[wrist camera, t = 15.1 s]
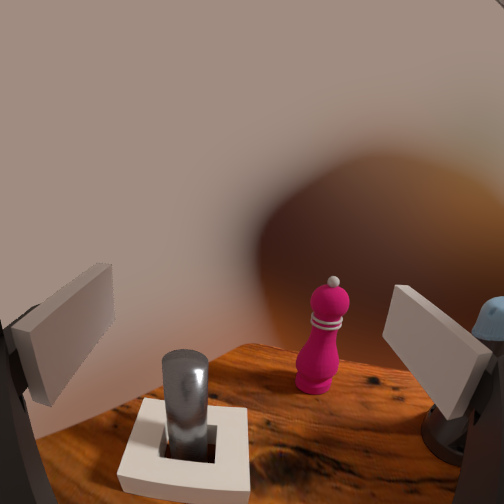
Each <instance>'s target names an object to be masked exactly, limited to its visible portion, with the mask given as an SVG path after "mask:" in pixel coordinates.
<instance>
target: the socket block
mask: <svg viewBox="0 0 504 504" xmlns="http://www.w3.org/2000/svg"><path fill="white" fill-rule="evenodd" d="M168 439H169V436H168V428H167V418H166V408H165V401H164V400H157V399H150V398H144V400H143V403H142V405H141V408H140V411H139V413H138V416H137V419H136V421H135V424H134V427H133V430H132V432H131V435H130V438H129V441H128V443H127V446H126V449H125V452H124V455H123V458H122V460H121V463H120V466H119V469H118V472H117V476H118V479H119V481H120V484H121V486H122V489H123V491H124V492H126V493H131V494H135V495H140V496H145V497H150V498H156V499H162V500H168V501H175V502H182V503H190V504H248V500H249V495H250V476H249V451H248V425H247V408H235V407H220V406H208V408H207V444H216V454H215V464H212V463H201V462H191V461H183V460H175V459H168V458H164V456H165V452H166V447H167V443H168Z"/></svg>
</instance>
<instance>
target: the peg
mask: <svg viewBox="0 0 504 504" xmlns="http://www.w3.org/2000/svg"><path fill="white" fill-rule="evenodd" d="M162 372H163V386H164V398H165V408H166V418H167V428H168V436H169V444H170V452H171V459H175V460H183V461H191V462H201V463H207V408H208V359H207V358H206V356H205V355H203V354H202V353H200V352H197V351H194V350H188V349H180V350H174V351H171V352H169V353H167V354H166V355H165V356H164V357H163V359H162Z"/></svg>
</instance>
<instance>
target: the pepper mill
mask: <svg viewBox="0 0 504 504" xmlns="http://www.w3.org/2000/svg"><path fill="white" fill-rule="evenodd" d="M338 285H339V279H338V278H337V277H336V276H332V277H330V278H329V279H328V285H323V286H320V287H318V288H317V289H316V290H315V291H314V292H313V294H312V297H311V308H312V309H313V311H314V312H313V313H312V315H311V316H312V318H311V320H310V321H311V323H312V331H311V335H310V337H309V339H308V341H307V342H306V344H305V345H304V346H303V348H302V349H301V351H300V352H299V354H298V356H297V360H296V368H297V370H298V372H297V374H296V379H295V384H296V386H297V388H299V389H300V390H301V391H303V392H305V393H308V394H313V395H318V394H322V393H325V392H326V391H328V390H329V388H330V385H331V381H332V377H333V376H334V375H335V374H336V372H337V370H338V365H339V358H338V353H337V348H336V334H337V330H338V329H339V328H340V327H341V325H342V324H341V322H342V320H343V318H342V316H343V315H344V314H345V313H346V311H347V310H348V307H349V297H348V294H347V293H346V291H345V290H344V289H342V288H341V287H339V286H338Z"/></svg>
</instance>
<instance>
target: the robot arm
mask: <svg viewBox="0 0 504 504" xmlns="http://www.w3.org/2000/svg"><path fill="white" fill-rule="evenodd" d="M496 1H497V2H498V3H499V4H500V5H501V6H502V7H503V8H504V0H496ZM114 321H115V311H114V298H113V281H112V264H103V263H96V264H95V265H93V266H92V267H91V268H89V269H88V270H86V271H85V272H84V273H82V274H81V275H79V276H78V277H76V278H75V279H74V280H72V281H71V282H69V283H68V284H67V285H65V286H64V287H63V288H61V289H60V290H59V291H57V292H56V293H54V294H53V295H52V296H50V297H49V298H48V299H46V300H45V301H44V302H42V303H41V304H38V305H36V306H33V307H31V308H30V309H29V310H27V311H26V312H25V313H24V314H22V315H21V316H20V317H19V318H18V319H16V320H14V321H13V322H12V323H11V324H9V325H8V326H7V327H6V328H4V329H2V325H1V320H0V504H58V503H57V500H56V498H55V495H54V493H53V491H52V488H51V485H50V483H49V480H48V478H47V475H46V472H45V469H44V466H43V464H42V461H41V458H40V454H39V451H38V448H37V445H36V441H35V438H34V434H33V431H32V427H31V423H30V419H29V415H28V411H27V407H26V402H25V400H24V397H23V392H24V391H25V390H26V389H27V387H28V389H29V391H30V394H31V397H32V399H33V401H35V402H37V403H41V404H43V405H46V406H50V407H52V405H53V403H54V402H55V401H56V399H57V398H58V396H59V395H60V394H61V392H62V390H63V389H64V388H65V386H66V385H67V384H68V382H69V381H70V379H71V378H72V377H73V375H74V374H75V372H76V371H77V370H78V368H79V367H80V366H81V364H82V363H83V362H84V360H85V359H86V357H87V356H88V355H89V353H90V352H91V351H92V349H93V348H94V347H95V345H96V344H97V343H98V341H99V340H100V339H101V337H102V336H103V335H104V333H105V332H106V331H107V330H108V328H109V327H110V326H111V324H112V323H113V322H114ZM383 338H384V339H385V340H386V341H387V342H388V344H389V345H390V346H391V347H392V349H393V350H394V351H395V352H396V354H397V355H398V356H399V358H400V359H401V360H402V361H403V363H404V364H405V365H406V366H407V367H408V369H409V370H410V372H411V373H412V374H413V375H414V377H415V378H416V379H417V381H418V382H419V383H420V385H421V386H422V387H423V388H424V390H425V391H426V392H427V394H428V395H429V396H430V398H431V399H432V400H433V402H434V403H435V404H434V405H433V406H432V407H431V408H430V409H429V411H428V413H427V415H426V417H425V419H424V421H423V423H422V428H421V431H422V437H423V440H424V442H425V444H426V445H427V447H428V448H429V449H430V451H431V452H432V453H433V454H435V455H436V456H437V457H438V458H440V459H441V460H443V461H445V462H447V463H449V464H452V465H455V466H460V467H461V470H460V475H459V479H458V483H457V487H456V491H455V495H454V498H453V502H452V504H504V296H502V297H496V298H493V299H490V300H488V301H487V302H486V303H485V304H484V305H483V307H482V309H481V311H480V314H479V316H478V319H477V322H476V324H475V326H474V327H473V330H472V335H471V334H470V333H469V332H468V331H466V330H465V329H464V328H463V327H461V326H460V325H459V324H458V323H456V322H455V321H454V320H453V319H451V318H450V317H449V316H448V315H446V314H445V313H443V312H442V311H441V310H440V309H438V308H437V307H436V306H435V305H433V304H432V303H431V302H429V301H428V300H427V299H425V298H424V297H423V296H421V295H420V294H419V293H417V292H416V291H415V290H413V289H412V288H411V287H409V286H407V285H395V288H394V292H393V296H392V300H391V305H390V309H389V313H388V317H387V320H386V324H385V328H384V332H383Z"/></svg>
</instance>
